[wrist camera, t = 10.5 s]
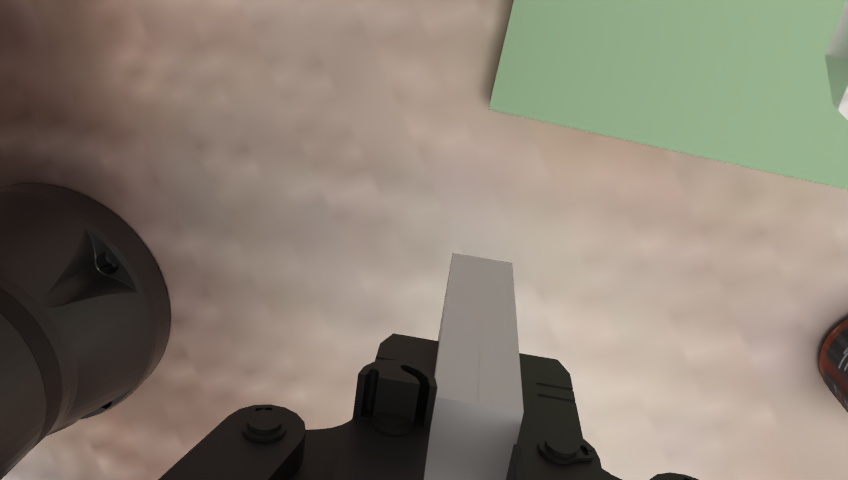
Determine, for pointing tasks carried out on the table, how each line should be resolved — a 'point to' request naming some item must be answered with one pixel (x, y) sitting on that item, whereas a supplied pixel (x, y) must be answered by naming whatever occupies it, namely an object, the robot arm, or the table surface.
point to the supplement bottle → (836, 362)
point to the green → (689, 77)
